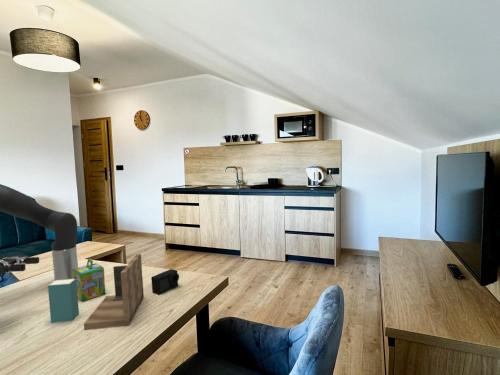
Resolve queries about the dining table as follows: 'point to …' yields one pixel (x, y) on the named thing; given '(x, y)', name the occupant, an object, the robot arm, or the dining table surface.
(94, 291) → the chalk box
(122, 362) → the dining table surface
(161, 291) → the digital camera
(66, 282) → the teal hardcover book
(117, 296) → the walnut shelf
